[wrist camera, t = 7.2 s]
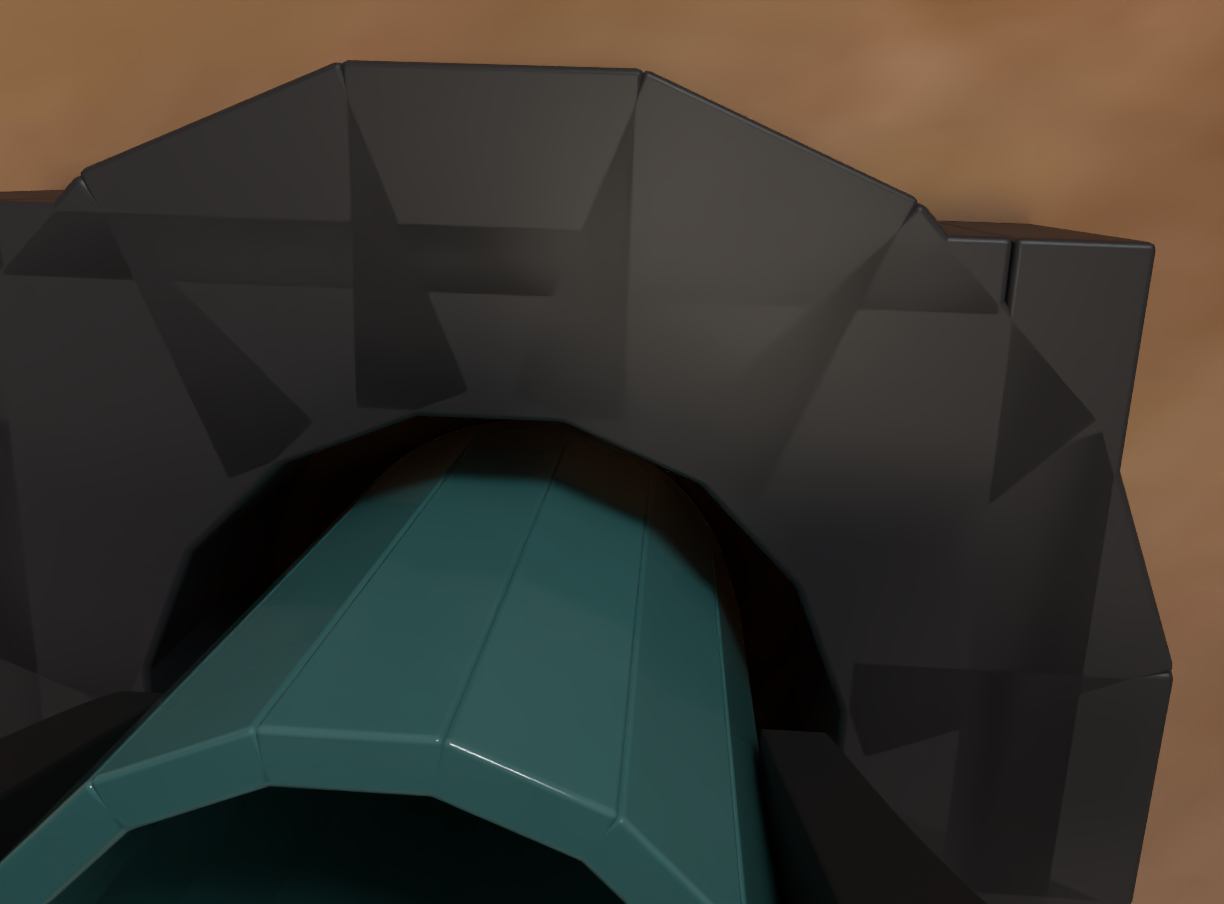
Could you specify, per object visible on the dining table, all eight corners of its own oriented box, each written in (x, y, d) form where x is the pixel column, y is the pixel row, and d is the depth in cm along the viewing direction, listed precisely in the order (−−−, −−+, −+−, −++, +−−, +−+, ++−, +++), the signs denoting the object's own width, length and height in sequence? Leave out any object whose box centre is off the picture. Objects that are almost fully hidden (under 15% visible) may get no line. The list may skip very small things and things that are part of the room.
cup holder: (92, 999, 17) (-58, 1210, 13) (-12, 75, 13) (-251, 42, 10) (980, 1066, 16) (1061, 1306, 13) (1120, 109, 12) (1286, 87, 9)
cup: (334, 786, 15) (-11, 1406, 8) (320, 410, 14) (-123, 704, 6) (722, 812, 15) (768, 1478, 7) (748, 428, 14) (838, 762, 6)
